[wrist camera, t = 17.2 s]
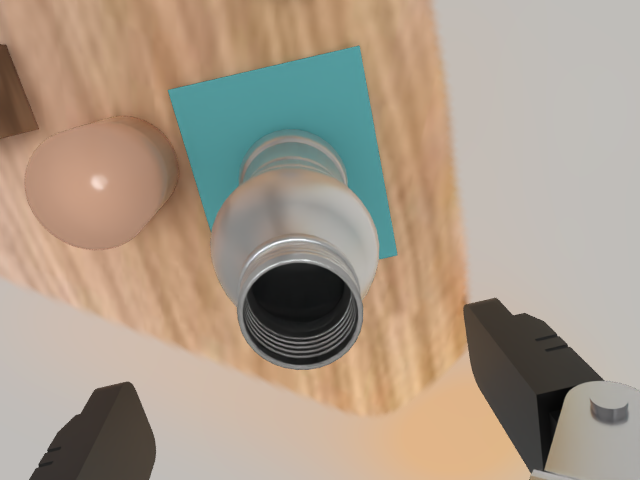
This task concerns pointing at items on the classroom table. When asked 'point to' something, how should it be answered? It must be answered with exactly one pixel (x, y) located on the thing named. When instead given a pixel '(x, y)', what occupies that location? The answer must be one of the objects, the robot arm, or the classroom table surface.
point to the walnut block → (13, 100)
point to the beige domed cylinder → (101, 181)
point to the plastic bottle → (295, 251)
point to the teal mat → (284, 126)
